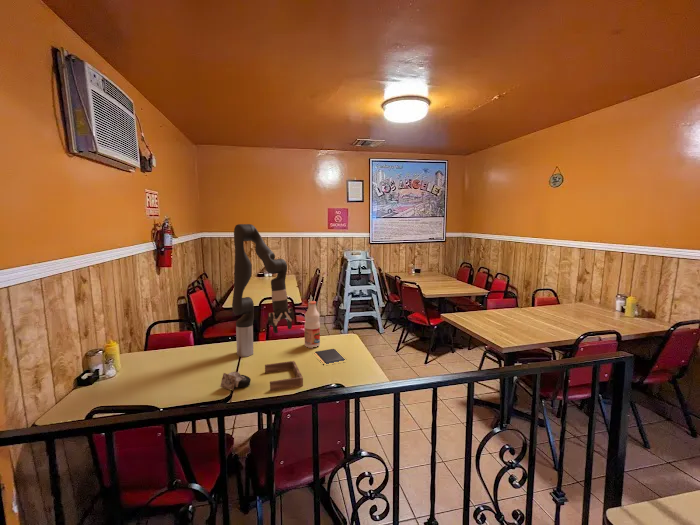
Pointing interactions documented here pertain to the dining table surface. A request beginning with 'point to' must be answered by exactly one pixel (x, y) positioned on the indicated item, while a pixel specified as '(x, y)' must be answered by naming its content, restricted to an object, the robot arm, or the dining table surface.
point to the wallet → (329, 356)
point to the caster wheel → (234, 380)
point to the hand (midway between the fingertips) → (282, 330)
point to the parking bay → (285, 382)
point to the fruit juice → (312, 326)
